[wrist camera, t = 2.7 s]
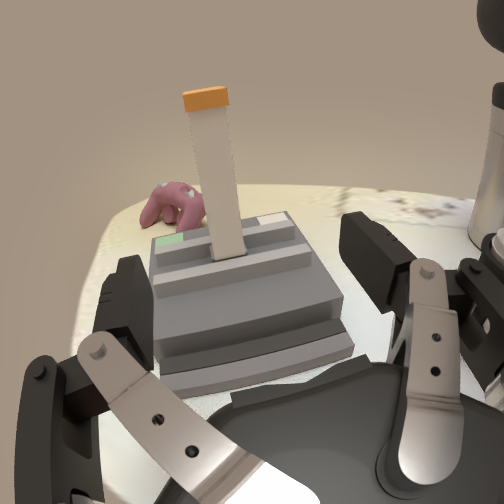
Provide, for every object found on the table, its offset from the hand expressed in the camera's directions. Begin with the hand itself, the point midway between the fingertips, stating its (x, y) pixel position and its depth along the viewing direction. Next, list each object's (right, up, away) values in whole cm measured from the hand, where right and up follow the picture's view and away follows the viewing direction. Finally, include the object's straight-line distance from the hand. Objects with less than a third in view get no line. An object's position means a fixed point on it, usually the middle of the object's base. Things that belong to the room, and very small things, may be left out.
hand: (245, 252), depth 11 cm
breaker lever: (-2, -1, +15) cm, 15 cm away
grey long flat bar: (+1, -8, +10) cm, 13 cm away
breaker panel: (-1, -3, +17) cm, 17 cm away
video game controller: (-10, +3, +27) cm, 29 cm away
